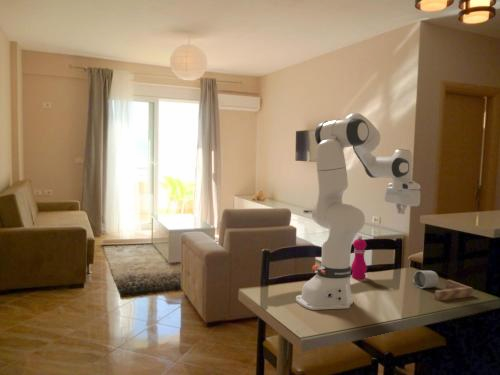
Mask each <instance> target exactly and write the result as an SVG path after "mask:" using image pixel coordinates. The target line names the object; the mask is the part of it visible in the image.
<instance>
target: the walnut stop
mask: <svg viewBox="0 0 500 375" xmlns="http://www.w3.org/2000/svg"><path fill="white" fill-rule="evenodd" d="M473 289H474V288H473V287H471V286H468V285H465V284H464V283H460V282H457V281H456V280H455V281H454V280H452V279H446V280H445V289H437V290H436V289H435V291H434V300H436V301H445V300H455V299H461V298H462V299H463V298H470V297H473V292H474V291H473Z"/></svg>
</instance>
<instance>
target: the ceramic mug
mask: <svg viewBox="0 0 500 375" xmlns="http://www.w3.org/2000/svg"><path fill="white" fill-rule="evenodd" d="M412 281H413V284H414V285H415V286H416V287H417V288H418V287H419V289H430V288H435V287H437V286H438V285H439V282H440V278H439V275H438V273H437V272H436V271H433V270H417V271H416V272H414V275H413V280H412Z"/></svg>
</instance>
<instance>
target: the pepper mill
mask: <svg viewBox="0 0 500 375" xmlns="http://www.w3.org/2000/svg"><path fill="white" fill-rule="evenodd" d="M352 245H353V248H354V249H353V250H354V251H353V253H354V258H353V261H352V262H351V265H350V266H351V277H352V278H353V279H355V280H364V279H366V275H367V274H366V273H367V271H368V267H367V263H366V260H365V253H366V249H367V242H366V241H365V240H364V239H363V237H362V235H358V237H357V239H355V240H353V242H352Z"/></svg>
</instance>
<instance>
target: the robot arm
mask: <svg viewBox="0 0 500 375" xmlns="http://www.w3.org/2000/svg"><path fill="white" fill-rule="evenodd" d="M314 137H315V138H314V139H315V142H316V144H317V146H316V156H315V157H316V172H317V180H318V195H317V200H316V203H315V205H314V206H313V208H312V209H311V210H312V211H311V217H312V220H313V221H314V222H315V223H316V224H317V225H319V226H320V227H322V228H325V229H328V230H329V235H328V237H327V239H326V241H324V242H323V244H322V245H321V263H320V265H319V266H318V265H316V264H314V265H312V270H313V271H315V272H317V273H316V274H315V275H314V276H313V277H311V278H310V279H309V280H308V281H306V282H305V283H304V284H303V286H302V289H301V294H299V295H296V296H295V301H296V302H297V303H298V304H299V305H300V306H302V307H303V308H306V309H308V310H311V311H317V310H319V311H321V310H341V309H342V310H343V309H350V308H351V306H352V305H353V303H354V299H353V296H352V291H351V277H352V270H351V266H352V265H351V250H352V245H353V243H354V239H355V238H356V235H357V234H358V233H359V232H360V231H362V229H363V228H364V225H365V222H366V218H365V213H364V212H363V211H362V210H361V209H360V208H358V207H356V206H354V205H352V204H347V203H343V195H344V192H345V191H346V190H347V189H348V187H349V182H348V181H349V180H348V173H347V171H348V170H347V161H346V158H345V157H346V156H345V153H344V148H351V147H352V148H353V152H354V154H355V156H356V157H357V158H358V160H359V162H360V163H361V164H362V166H363V168H364V171H365V173H366V175H368V177H369V178H374V179H375V178H378V179H379V178H382V179H383V178H384V179H385V178H387V179H391V180H392V181H391V182H390V183H388V184H387V185H386V188H385V193H384V201H385V202H386V203H390V204H395V207H396V210H397V214H400V215H405V214H406V213H405V212H406V209H407V207H408V206H409V207H419V206H420V204H421V191H420V189H421V185H420V184H419V183H417V182H416V181H414V180H413V174H412V173H413V169H414V160H413V153H412V151H410V150H409V149H400V148H399V149H395V150H394V153H393V154H392V155H390V156H378V155H377V156H376V155H373V154H372V152H374V151H375V150H376V149H377V147H378V146H379V145H380V142H381V134H380V132H379V130H378V128H377V127H376V126H375V125H374V124H373V123H372V122H371V121H370V119H368V118H367V117H366V116H364V115H363V114H361V113H359V112H352V113H350V114H348V115H346V117H345V118H343V119H341V118H339V119H333V120H329V121H328V120H326V121H323V122H320V123H319V124H318V125H317V127H316V129H315V131H314Z"/></svg>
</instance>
